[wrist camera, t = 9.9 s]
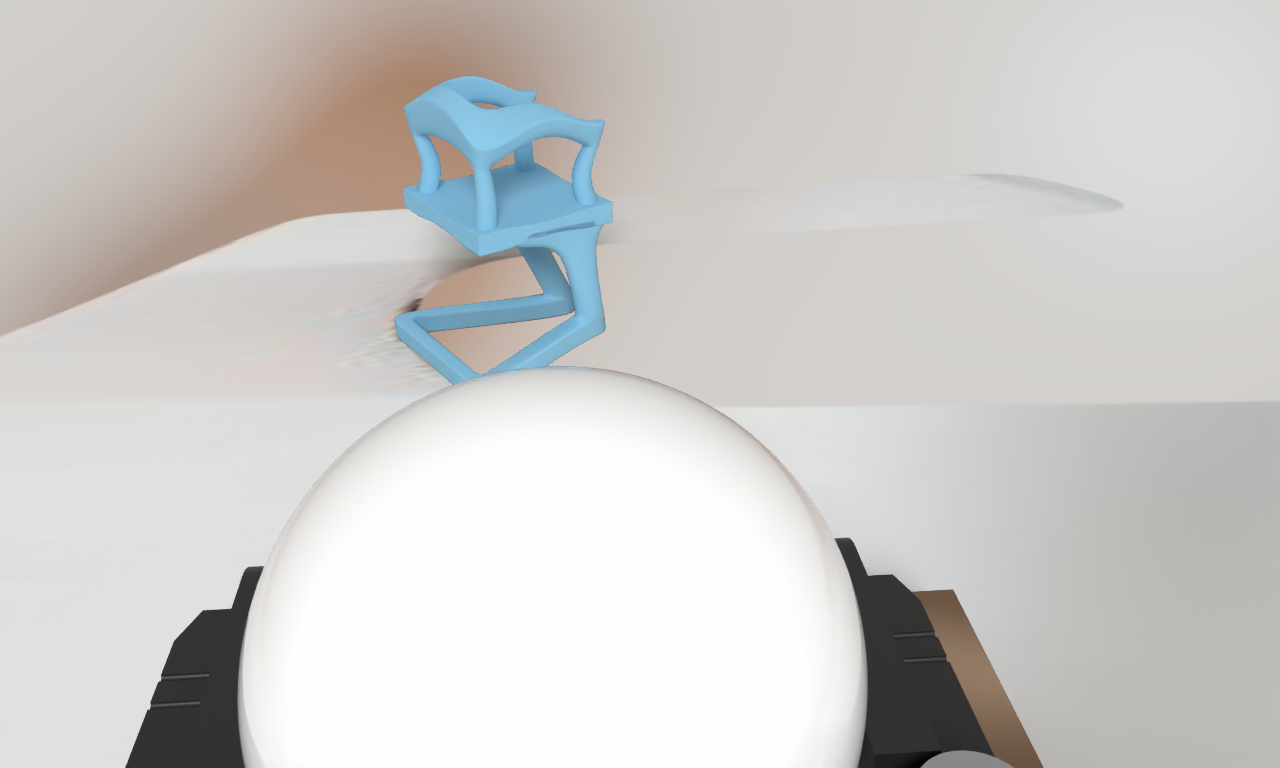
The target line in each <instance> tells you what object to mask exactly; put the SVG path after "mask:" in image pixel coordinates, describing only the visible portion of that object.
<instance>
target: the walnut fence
mask: <svg viewBox="0 0 1280 768" xmlns="http://www.w3.org/2000/svg"><path fill="white" fill-rule="evenodd" d="M912 593H913V594H914V595H915V596H916V597H917V598H919V599H920V600H921V602H922V604H923V607H924V609H925V611H926V613H927V615H928V617H929V619H930V621H931V623H932V626H933V628H934V630H935V636H936V637H938V638H939V640H940V642H941V645H942V647H943V649H944V651H945V653H946V655H947V662H950V663H951V666H952V668H953V670H954V672H955V674H956V676H957V678H958V680H959V682H960V685H961V687H962V689H963V691H964V693H965V695H966V697H967V699H968V701H969V704H970V706H971V708H972V710H973V712H974V714H975V716H976V718H977V720H978V723H979V725H980V727H981V729H982V731H983V733H984V735H985V737H986V739H987V741H988V744H989V746H990V748H991V750H992V752H993V754H994V755H995V757H996V758H998V759H1000V760H1002V761H1004V762H1006V763H1008V764H1009V765H1011V766H1012V767H1014V768H1043V766H1042V764H1041V762H1040V760H1039V758H1038V756H1037V754H1036V752H1035V750H1034V748H1033V746H1032V744H1031V742H1030V740H1029V738H1028V736H1027V734H1026V732H1025V730H1024V728H1023V726H1022V724H1021V722H1020V720H1019V718H1018V717H1017V715H1016V713H1015V711H1014V709H1013V707H1012V705H1011V703H1010V701H1009V699H1008V697H1007V695H1006V693H1005V691H1004V689H1003V687H1002V685H1001V683H1000V681H999V679H998V677H997V675H996V673H995V671H994V669H993V667H992V665H991V663H990V661H989V659H988V657H987V655H986V654H985V652H984V650H983V648H982V646H981V644H980V642H979V640H978V638H977V636H976V634H975V632H974V630H973V628H972V626H971V624H970V622H969V620H968V618H967V616H966V614H965V612H964V610H963V608H962V606H961V604H960V602H959V600H958V598H957V596H956V594H955V592H954V590H936V591H919V592H912Z"/></svg>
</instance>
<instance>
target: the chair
mask: <svg viewBox="0 0 1280 768" xmlns="http://www.w3.org/2000/svg"><path fill="white" fill-rule="evenodd" d="M536 95H537V92H536V91H530V90H529V91H519V90H513V89H510V88H508V87H505V86H503V85H501V84H499V83H496V82H493V81H491V80H488V79H485V78H480V77H475V76H469V77H459V78H455V79H451V80H448V81H446V82H443V83H441V84H439V85H437V86H435V87H433V88H431V89H430V90H428V91H426V92H425V93H423V94H422V95H421V96H419V97H417V98H416V99H414V100H413V101H412V102H410V103H409V104H408V105H406V106H405V107H404V112H405V115H406V118H407V121H408V124H409V128H410V130H411V134H412V136H413V139H414V141H415V144H416V146H417V149H418V152H419V155H420V159H421V176H420V181H419V184H418V185H414V186H410V187H404V188H403V189H404V200H405V207H406V208H408V209H409V210H411V211H412V212H414V213H415V214H417V215H418V216H420V217H422V218H425V219H427V220H429V221H432V222H434V223H435V224H437V225H438V226H440V227H441V228H443V229H444V230H446V231H447V232H448V233H450V234H451V235H452V236H453V237H454V238H455V239H456V240H458V241H459V242H460V243H461V244H462V245H463V246H465V247H466V248H468V249H469V250H471V251H472V252H474V253H475V254H476V255H478V256H479V257H481V256H485V255H488V254H492V253H496V252H500V251H504V250H507V249H510V248H513V247H518V248H519V250H520V251H521V253H522V255H523V256H524V258H525V260H526V261H527V263H528V265H529V267H530V268H531V270H532V272H533V274H534V275H535V277H536V279H537V281H538V282H539V284H540V286H541V288H542V290H543V294H539V295H533V296H527V297H519V298H512V299H504V300H496V301H488V302H480V303H472V304H464V305H455V306H448V307H440V308H433V309H426V310H419V311H414V312H409V313H405V314H401V315H398V316H397V317H395V325H396V331H397V336H398V338H399V339H400V340H402V341H403V342H404V343H405V344H406V345H408V346H409V347H410V348H411V349H412V350H413V351H415V352H416V353H417V354H418V355H419V356H421V357H422V358H423V359H424V360H425V361H426V362H428V363H429V364H430V365H431V366H432V367H433V368H435V369H436V370H437V371H438V372H439V373H441V374H442V375H443V376H444V377H445V378H446V379H448V380H449V381H450V382H451V383H452V384H457V383H460V382H463V381H466V380H469V379H472V378H476V377H480V376H484V375H488V374H492V373H497V372H502V371H508V370H514V369H521V368H531V367H544V366H547V365H549V364H550V363H552V362H553V361H555V360H556V359H558V358H559V357H561V356H562V355H564V354H566V353H567V352H569V351H570V350H572V349H573V348H575V347H577V346H579V345H580V344H582V343H584V342H586V341H587V340H589V339H591V338H593V337H595V336H597V335H599V334H601V333H602V332H604V331H605V328H606V327H605V318H604V311H603V305H602V299H601V293H600V286H599V279H598V270H597V259H596V243H597V238H598V235H599V232H600V230H601V228H602V226H603V224H605V223H609V222H612V202H611V201H609V200H607V199H605V198H603V197H601V196H599V195H597V194H595V192H594V189H593V186H592V180H591V169H592V164H593V160H594V157H595V154H596V151H597V149H598V146H599V142H600V138H601V135H602V131H603V128H604V125H605V121H603V120H585V119H580V118H576V117H574V116H572V115H569V114H567V113H564V112H562V111H560V110H558V109H555V108H552V107H549V106H547V105H542V104H537V103H534V102H535V99H536ZM473 103H487V104H492V105H496V106H499V107H501V108H496V109H484V108H481V107H479V106H476V105H474V104H473ZM428 135H431V136H435V137H439V138H441V139H443V140H445V141H447V142H448V143H450V144H452V145H453V146H454V147H455V148H457V149H458V150H459V151H460V152H461V153H462V154H463V155H464V156H465V157H466V158H467V160H468V161H469V162H470V164H471V165H472V167H473V172H474V175H470V176H466V177H462V178H457V179H449V180H441V181H440V176H441V164H440V161H439V157H438V154H437V152H436V150H435V147H434V145H433V144H432V142H431V140H430V138H429V136H428ZM545 137H561V138H566V139H570V140H573V141H575V142H578V143H580V144H582V148H581V150H580V152H579V154H578V156H577V158H576V161H575V163H574V167H573V171H572V184H571V183H569V182H567V181H566V180H564V179H561V178H560V177H558V176H557V175H555V174H554V173H552V172H551V171H549V170H548V169H546V168H544V167H543V166H541V165H539V164H537V163H535V162H534V158H533V150H532V141H534V140H537V139H540V138H545ZM513 151H514V158H515V164H511V165H506V166H503V167H500V168H497V169H493V170H490V168H491V167H492V166H493V165H494V164H495V163H497V162H498V161H500V160H501V159H503V158H504V157H505V156H507V155H508V154H510V153H512V152H513ZM550 249H552V250H554V251H555V252H556V253H557V254H558V255H559V256H560V257H561V260H562V262H563V264H564V266H565V269H566V273H567V276H568V279H569V283H570V286H569V284H568V282H567V280H566V279H565V277H564V275H563V273H562V271H561V270H560V268H559V266H558V264H557V262H556V260H555V259H554V257H553V255H552V253H551V251H550ZM573 311H575V315H574V316H573V317H571V318H569V319H568V320H566V321H564V322H563V323H561V324H560V325H558V326H557V327H555V328H554V329H552V330H551V331H549V332H547V333H546V334H544V335H543V336H541V337H540V338H538V339H537V340H536V341H534V342H533V343H531V344H530V345H528V346H527V347H525V348H524V349H522V350H521V351H519V352H518V353H516V354H515V355H513V356H512V357H510V358H509V359H507V360H506V361H504V362H503V363H501V364H500V365H498V366H497V367H495V368H493V369H492V370H490V371H489V372H487V373H485V374H481V375H480V374H477V373H475V372H474V371H473V370H472V369H471V368H469V367H468V366H467V365H466V364H465V363H463V362H462V361H461V360H460V359H459V358H457V357H456V356H455V355H454V354H453V353H451V352H450V351H449V350H448V349H447V348H445V347H444V346H443V345H442V344H441V343H439V342H438V341H437V340H436V339H435V338H433V337H432V336H431V335H430V334H428V333H427V332H435V331H444V330H453V329H460V328H470V327H479V326H488V325H496V324H505V323H514V322H521V321H530V320H538V319H544V318H550V317H557V316H562V315H566V314H569V313H572V312H573Z"/></svg>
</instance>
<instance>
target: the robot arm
mask: <svg viewBox="0 0 1280 768" xmlns="http://www.w3.org/2000/svg"><path fill="white" fill-rule="evenodd" d="M834 539H835V541H836V543H837V545H838V547H839V549H840V552H841V554H842V556H843V559H844V561H845V563H846V566H847V569H848V572H849V575H850V577H851V580H852V583H853V587H854V590H855V594H856V597H857V601H858V605H859V609H860V614H861V619H862V624H863V630H864V637H865V645H866V653H867V668H868V703H867V717H866V726H865V734H864V741H863V747H862V752H861V757H860V761H859V766H858V768H1014V767H1012V766H1011V765H1009V764H1008V763H1006V762H1004V761H1002V760H1000V759H998V758H996V757H995V755H994V754H993V752H992V750H991V748H990V746H989V744H988V741H987V739H986V737H985V735H984V733H983V731H982V729H981V727H980V725H979V723H978V720H977V718H976V716H975V714H974V712H973V710H972V708H971V706H970V704H969V701H968V699H967V697H966V695H965V693H964V691H963V689H962V687H961V685H960V682H959V680H958V678H957V676H956V674H955V672H954V670H953V668H952V666H951V663H950V662H947V655H946V653H945V651H944V649H943V647H942V645H941V642H940V640H939V638H938V637H936V636H935V630H934V628H933V626H932V623H931V621H930V619H929V617H928V615H927V613H926V611H925V609H924V607H923V604H922V602H921V600H920V599H919V598H917V597H916V596H915V595H914V594H913V593H912V592H911V591H910V590H909V589H908V588H907V587H906V586H904V585H903V584H902V583H901V582H900V581H899V580H898V579H897V578H896V577H895V576H894V575H873V576H868V575H867V573H866V571H865V568H864V566H863V563H862V561H861V559H860V556H859V554H858V552H857V549H856V547H855V545H854V543H853V541H852V540H851V539H850V538H834ZM263 568H264V566H258V567H248V568H247V569H246V570H245V571H244V573H243V576H242V579H241V582H240V585H239V588H238V591H237V594H236V597H235V600H234V603H233V606H232V609H221V610H203V611H202V612H201V613H200V614H199V615H198V616H197V617H196V618H195V619H194V621H193V622H192V623H191V624H190V625H189V626H188V627H187V628H186V629H185V630H184V631H183V632H182V633H181V634H180V635H179V636H178V638H177V639H176V640H175V641H174V643H173V645H172V648H171V651H170V653H169V656H168V658H167V661H166V664H165V666H164V669H163V671H162V674H161V682H158V684H157V687H156V689H155V692H154V695H153V697H152V700H151V702H150V703H151V708H150V710H147V713H146V715H145V718H144V721H143V723H142V726H141V728H140V731H139V734H138V736H137V739H136V741H135V744H134V746H133V749H132V752H131V754H130V757H129V759H128V762H127V765H126V767H125V768H245V767H244V762H243V757H242V751H241V744H240V737H239V727H238V709H237V690H238V672H239V661H240V653H241V647H242V640H243V635H244V630H245V625H246V621H247V617H248V612H249V609H250V606H251V602H252V599H253V596H254V592H255V589H256V587H257V584H258V581H259V578H260V576H261V573H262V571H263Z"/></svg>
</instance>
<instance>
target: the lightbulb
mask: <svg viewBox="0 0 1280 768" xmlns="http://www.w3.org/2000/svg"><path fill="white" fill-rule="evenodd" d="M867 703H868V668H867V653H866V645H865V637H864V630H863V624H862V619H861V614H860V609H859V605H858V601H857V597H856V594H855V590H854V587H853V583H852V580H851V577H850V575H849V572H848V569H847V566H846V563H845V561H844V559H843V556H842V554H841V552H840V549H839V547H838V545H837V543H836V541H835V539H834V537H833V535H832V533H831V531H830V529H829V527H828V525H827V524H826V522H825V520H824V519H823V517H822V515H821V514H820V512H819V510H818V509H817V507H816V506H815V504H814V503H813V501H812V500H811V498H810V497H809V495H808V494H807V492H806V491H805V490H804V488H803V487H802V486H801V484H800V483H799V482H798V481H797V479H796V478H795V477H794V476H793V475H792V473H791V472H790V471H789V470H788V469H787V468H786V467H785V466H784V465H783V463H782V462H781V461H780V460H779V459H778V458H777V457H776V456H775V455H774V454H773V453H772V452H771V451H770V450H769V449H768V448H767V447H765V446H764V445H763V444H762V443H761V442H760V441H759V440H758V439H756V438H755V437H754V436H753V435H752V434H750V433H749V432H748V431H747V430H745V429H744V428H743V427H741V426H740V425H739V424H737V423H736V422H735V421H733V420H732V419H730V418H729V417H727V416H726V415H724V414H723V413H721V412H719V411H718V410H716V409H714V408H713V407H711V406H709V405H707V404H706V403H704V402H702V401H700V400H698V399H696V398H694V397H692V396H690V395H688V394H686V393H683V392H681V391H679V390H677V389H674V388H671V387H669V386H666V385H664V384H661V383H658V382H655V381H652V380H649V379H646V378H642V377H639V376H635V375H631V374H626V373H622V372H617V371H612V370H604V369H597V368H588V367H576V366H544V367H531V368H521V369H514V370H508V371H502V372H497V373H492V374H488V375H484V376H480V377H476V378H472V379H469V380H466V381H463V382H460V383H457V384H454V385H451V386H449V387H446V388H444V389H441V390H439V391H436V392H434V393H432V394H430V395H428V396H425V397H423V398H421V399H419V400H417V401H415V402H413V403H412V404H410V405H408V406H406V407H404V408H403V409H401V410H399V411H397V412H396V413H394V414H393V415H391V416H390V417H388V418H387V419H385V420H384V421H382V422H381V423H379V424H378V425H376V426H375V427H374V428H372V429H371V430H370V431H368V432H367V433H366V434H365V435H363V436H362V437H361V438H360V439H358V440H357V441H356V442H355V443H354V444H352V445H351V446H350V447H349V448H348V449H347V450H346V451H345V452H344V453H343V454H341V455H340V456H339V457H338V458H337V459H336V460H335V461H334V462H333V463H332V464H331V465H330V467H329V468H328V469H327V470H326V471H325V472H324V473H323V474H322V475H321V476H320V477H319V479H318V480H317V481H316V482H315V483H314V485H313V486H312V487H311V488H310V490H309V491H308V492H307V494H306V495H305V496H304V498H303V499H302V500H301V502H300V503H299V505H298V506H297V507H296V509H295V510H294V512H293V513H292V515H291V516H290V518H289V520H288V521H287V523H286V525H285V526H284V528H283V530H282V531H281V533H280V535H279V537H278V539H277V541H276V543H275V544H274V546H273V548H272V550H271V553H270V555H269V557H268V559H267V561H266V564H265V566H264V568H263V571H262V573H261V576H260V578H259V581H258V584H257V587H256V589H255V592H254V596H253V599H252V602H251V606H250V609H249V612H248V617H247V621H246V625H245V630H244V635H243V640H242V647H241V653H240V661H239V672H238V690H237V709H238V727H239V737H240V744H241V751H242V757H243V762H244V767H245V768H858V766H859V761H860V757H861V752H862V747H863V741H864V734H865V726H866V717H867Z"/></svg>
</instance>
